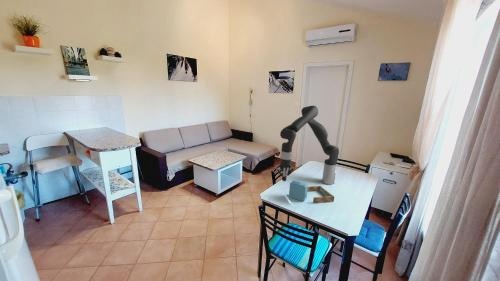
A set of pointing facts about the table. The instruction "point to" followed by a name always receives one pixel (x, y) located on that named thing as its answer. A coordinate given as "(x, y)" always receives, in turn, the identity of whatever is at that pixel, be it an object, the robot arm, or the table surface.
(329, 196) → the brown wooden u shape
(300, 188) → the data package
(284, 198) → the table surface
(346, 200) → the table surface
